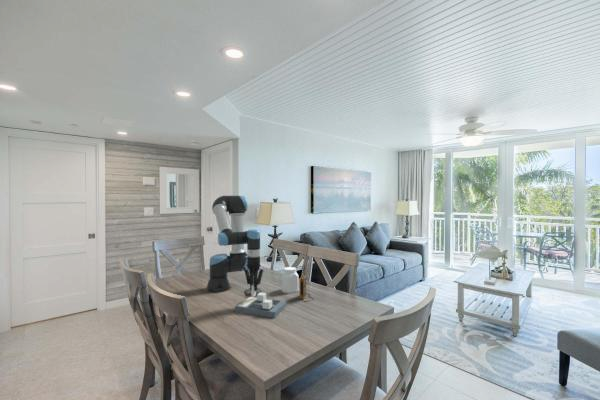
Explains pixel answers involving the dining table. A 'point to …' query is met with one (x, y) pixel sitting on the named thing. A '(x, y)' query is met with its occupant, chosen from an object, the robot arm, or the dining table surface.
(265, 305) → the near slider
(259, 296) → the far slider
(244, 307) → the switch panel
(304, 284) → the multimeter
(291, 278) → the jar
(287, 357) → the dining table surface
